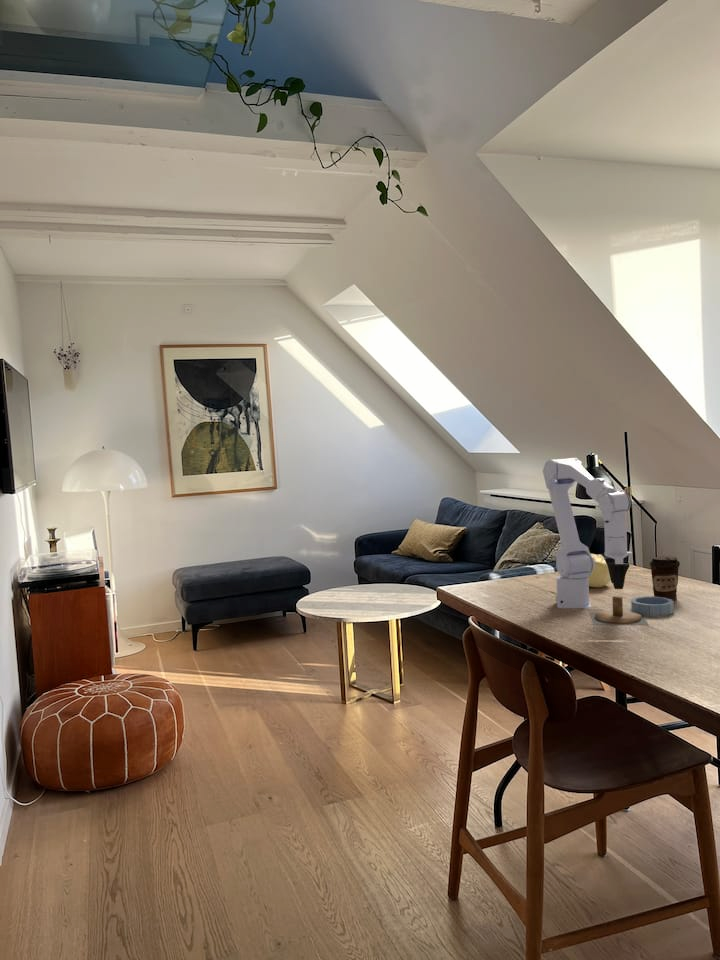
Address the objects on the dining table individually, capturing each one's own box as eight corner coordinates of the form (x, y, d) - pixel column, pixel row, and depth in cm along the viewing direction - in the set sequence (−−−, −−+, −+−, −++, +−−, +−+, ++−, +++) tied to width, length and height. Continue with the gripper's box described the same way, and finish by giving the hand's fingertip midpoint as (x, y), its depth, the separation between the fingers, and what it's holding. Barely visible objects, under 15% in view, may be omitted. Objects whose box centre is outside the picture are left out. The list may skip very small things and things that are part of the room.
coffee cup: (683, 604, 223) (682, 560, 223) (653, 604, 225) (652, 560, 224) (677, 597, 232) (676, 555, 231) (648, 597, 234) (647, 555, 233)
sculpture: (612, 590, 247) (611, 556, 246) (573, 589, 251) (572, 556, 250) (612, 582, 258) (611, 550, 257) (575, 582, 261) (574, 550, 261)
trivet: (593, 626, 204) (593, 624, 204) (589, 613, 218) (589, 611, 218) (648, 626, 201) (648, 625, 201) (641, 613, 215) (641, 612, 215)
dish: (634, 617, 211) (633, 605, 211) (629, 608, 222) (628, 596, 222) (676, 618, 209) (676, 605, 208) (669, 608, 219) (669, 596, 219)
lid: (596, 623, 205) (596, 602, 205) (593, 612, 217) (592, 592, 216) (644, 624, 202) (643, 602, 202) (638, 613, 214) (637, 592, 214)
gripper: (634, 540, 200) (636, 591, 201) (627, 532, 214) (629, 580, 215) (606, 540, 202) (607, 591, 203) (601, 532, 216) (602, 580, 217)
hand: (617, 585), depth 209 cm, fingers open, 7 cm apart
